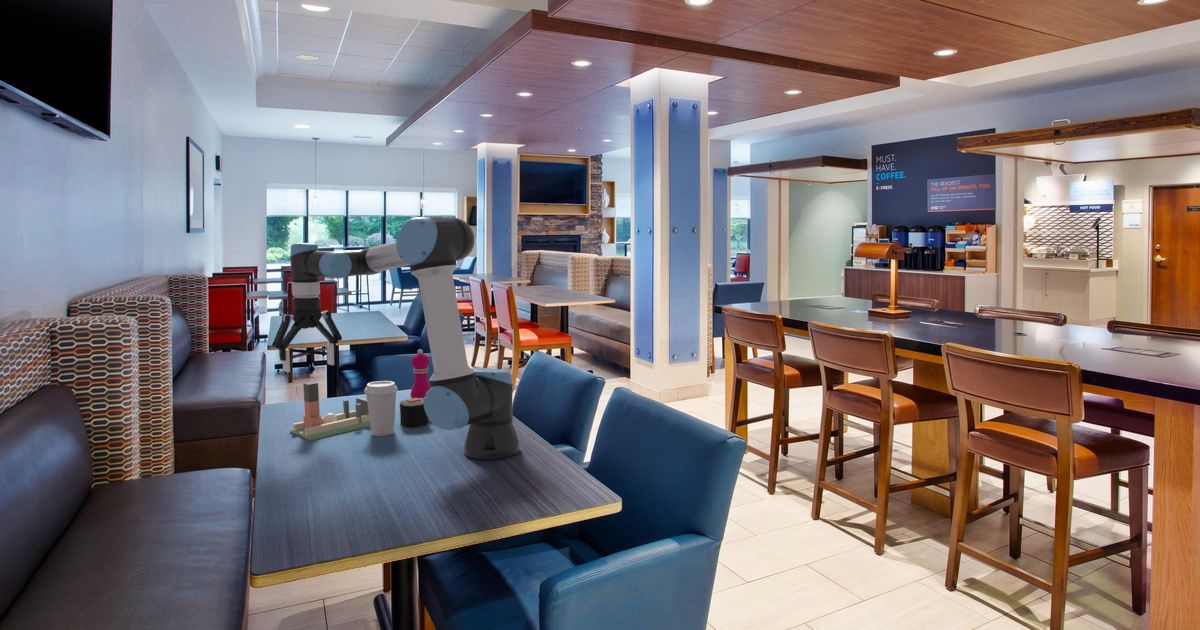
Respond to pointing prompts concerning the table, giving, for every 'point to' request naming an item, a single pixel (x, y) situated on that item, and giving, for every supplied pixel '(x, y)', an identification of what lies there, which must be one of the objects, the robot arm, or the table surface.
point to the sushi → (413, 413)
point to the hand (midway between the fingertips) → (309, 367)
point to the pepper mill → (420, 375)
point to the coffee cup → (381, 406)
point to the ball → (329, 418)
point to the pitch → (337, 422)
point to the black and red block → (311, 405)
